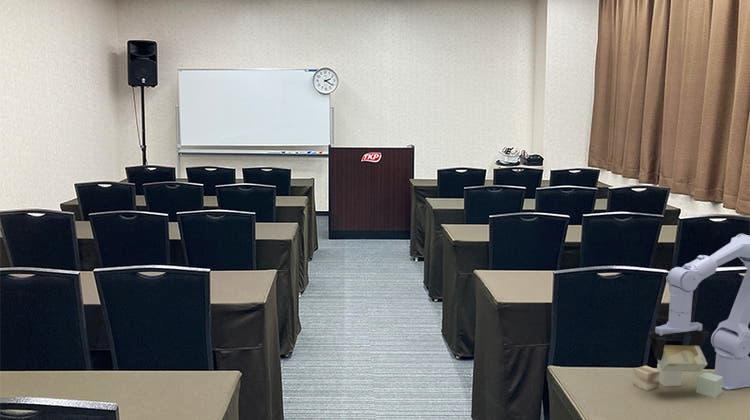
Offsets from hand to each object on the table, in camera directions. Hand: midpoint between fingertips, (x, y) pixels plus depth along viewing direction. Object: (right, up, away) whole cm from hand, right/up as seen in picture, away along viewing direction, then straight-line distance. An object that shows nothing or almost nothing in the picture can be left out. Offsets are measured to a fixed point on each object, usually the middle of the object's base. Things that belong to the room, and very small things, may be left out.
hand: (676, 356), depth 202 cm
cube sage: (+10, -11, +1) cm, 14 cm away
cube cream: (+1, -9, +8) cm, 12 cm away
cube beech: (-7, -10, +6) cm, 13 cm away
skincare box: (+7, 0, 0) cm, 7 cm away
